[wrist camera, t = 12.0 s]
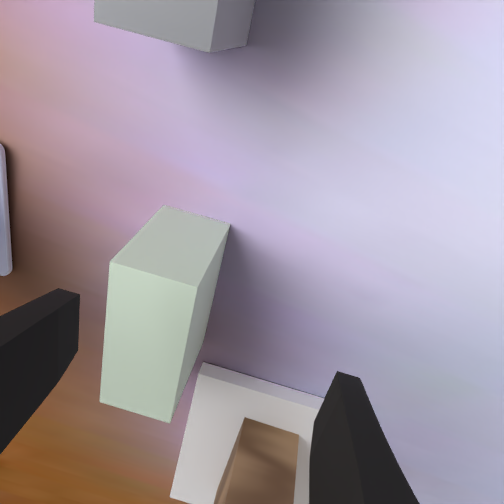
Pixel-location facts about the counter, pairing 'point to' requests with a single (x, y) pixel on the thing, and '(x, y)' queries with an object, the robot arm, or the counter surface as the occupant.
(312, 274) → the counter surface
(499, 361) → the counter surface
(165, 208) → the sage brick
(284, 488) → the walnut brick
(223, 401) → the white mat
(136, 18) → the grey brick
